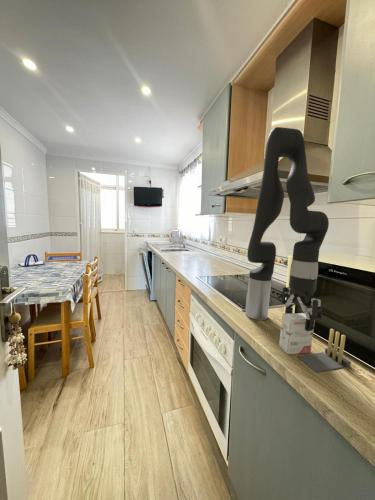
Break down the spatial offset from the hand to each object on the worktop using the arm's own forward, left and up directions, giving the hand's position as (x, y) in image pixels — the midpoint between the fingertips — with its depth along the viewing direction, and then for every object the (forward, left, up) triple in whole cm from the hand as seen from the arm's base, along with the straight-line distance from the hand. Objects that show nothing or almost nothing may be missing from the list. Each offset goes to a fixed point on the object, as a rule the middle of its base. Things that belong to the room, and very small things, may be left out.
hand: (297, 324), depth 68 cm
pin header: (+7, +10, -9) cm, 15 cm away
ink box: (0, 0, -9) cm, 9 cm away
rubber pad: (+7, +3, -9) cm, 12 cm away
